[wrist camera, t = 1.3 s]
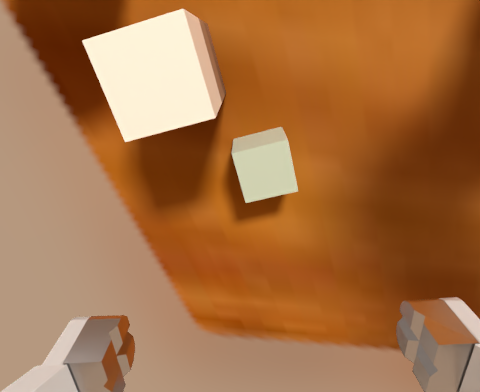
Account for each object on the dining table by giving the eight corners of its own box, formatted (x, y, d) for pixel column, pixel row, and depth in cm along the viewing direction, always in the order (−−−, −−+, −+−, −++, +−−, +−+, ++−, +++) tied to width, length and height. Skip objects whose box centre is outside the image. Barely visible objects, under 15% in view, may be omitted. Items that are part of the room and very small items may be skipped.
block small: (281, 126, 32) (287, 139, 27) (291, 171, 34) (298, 191, 29) (233, 138, 32) (231, 153, 28) (245, 182, 34) (245, 203, 30)
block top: (198, 18, 22) (183, 8, 17) (222, 102, 25) (215, 118, 19) (120, 42, 23) (81, 40, 18) (150, 122, 26) (124, 142, 20)
